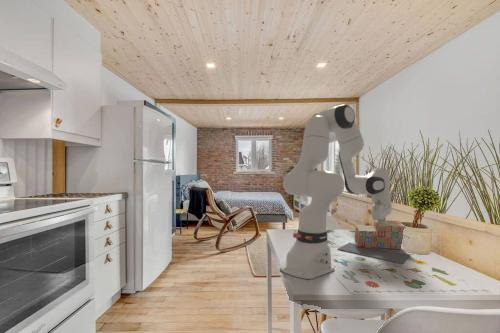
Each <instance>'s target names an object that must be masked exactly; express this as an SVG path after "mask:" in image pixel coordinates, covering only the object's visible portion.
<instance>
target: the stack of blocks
mask: <svg viewBox="0 0 500 333" xmlns="http://www.w3.org/2000/svg"><path fill="white" fill-rule="evenodd" d="M373 221H374V223H373V225H355V230H354V244H357V246H358V247H365V248H380V249H393V250H394V249H395V250H396V249H397V250H402V249H401V244H402V239H403V230H404V228H405V229H406V225H404V224H403V223H402V222H401V221H400V220H385V221H378V220H373Z"/></svg>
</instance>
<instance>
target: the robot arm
mask: <svg viewBox="0 0 500 333" xmlns="http://www.w3.org/2000/svg"><path fill="white" fill-rule="evenodd" d="M330 133H331V134H332V133H334V135H335V138H336V140H337V143H338V146H339V151H338V152H339V153H338V158H339V159H338V160H339V163H340V167H341V172H342V174H343V177H342V175H341V174H340V173H339V172H335V171H330V170H315V169H316V168H317V167H318V166H319V165H321V164H323V163H325V161H327V159H328V157H329V147H330ZM364 146H365V142H364V138H363V136H362V133H361V130H360V128H359V126H358V125H357V123H356V113H355V111H354V109H353V108H352V107H351V106H350V105H348V104H340V105H337V106H333V107H330V108H326V109H324V110H321V111H319V112H317V113H315V114H313V115H311V117H310V118H308V120H307V121H306V125H305V127H304V131H303V138H302V146H301V153H300V157H299V159H298V161H297V163H296V164H295V166H294V167H293V169H291V170H290V171H289V172H287V173H286V174H285V176H284V177H283V181H282V187H283V189H284V191H285V192H286V193H287V194H288V195H292V196H295V197H305V198H306V197H307V198H311V201H310V204H307V205H305V206H303V207H302V208H301V209H300V210H299V212H298V229H297V232H293V234H292V237H293V238H294V239H296V241H295V242H294V243H293V245H292V246H291V247H290V248H289V251H288V252H287V253H286V262H285V263H283V264H281V265H280V267H279V269H280V271H281V272H283V273H285V274H287V275H289V276H292V277H296V278H298V279H299V278H300V279H306V280H312V279H315V278H317V277H320V276H323V275H327V274H329V273H332V272H334V271H335V266H334V265H332V254H331V252H332V251H331V247H330V246H329V244H328V242H327V241H328V231H327V215H328V211H329V208H330V206H331V204H332V203H333V201H335V200H336V199H337V198H338V197H341V195H342V194H343V192H344V190H345V191H347V192H348V193H349V194H351V195H352V194H353V195H368V196H369V195H371V203H373V204H372V208H371V219H372V220H373V221H375V220H376V221H386V217H388V216H389V215H391V213H392V202H393V197H392V196H391V195H392V194H391V193H392V192H391V188H390V187H391V177H390V173H389V171H388V169H386V168H380V167H378V168H377V167H375V168H374V167H373V168H371V172H369V173H367V174H366V175H359V174H357V173H356V172H355V167H354V164H353V158H354V157H356V156H357V155H358V154H360V153H361V152H362V150H363V148H364Z"/></svg>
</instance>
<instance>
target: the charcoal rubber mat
mask: <svg viewBox="0 0 500 333" xmlns="http://www.w3.org/2000/svg"><path fill="white" fill-rule="evenodd" d="M336 250H337V251H341V252H346V253H351V254H356V255H359V256H364V257H369V258H374V259H377V260H382V261H387V262H392V263H395V264H400V265H403V264H404V263H405V262H406V261H407V259H408V258H409V257H410V256H411V254H410V253H406V252H405V253H404V252H400V251H395V250H390V249H386V248H365V247H358V246H357V244H356V243H355V242H354V243H353V242H348V243H345V244H344V245H342V246H340V247H338V248H337V249H336Z"/></svg>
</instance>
